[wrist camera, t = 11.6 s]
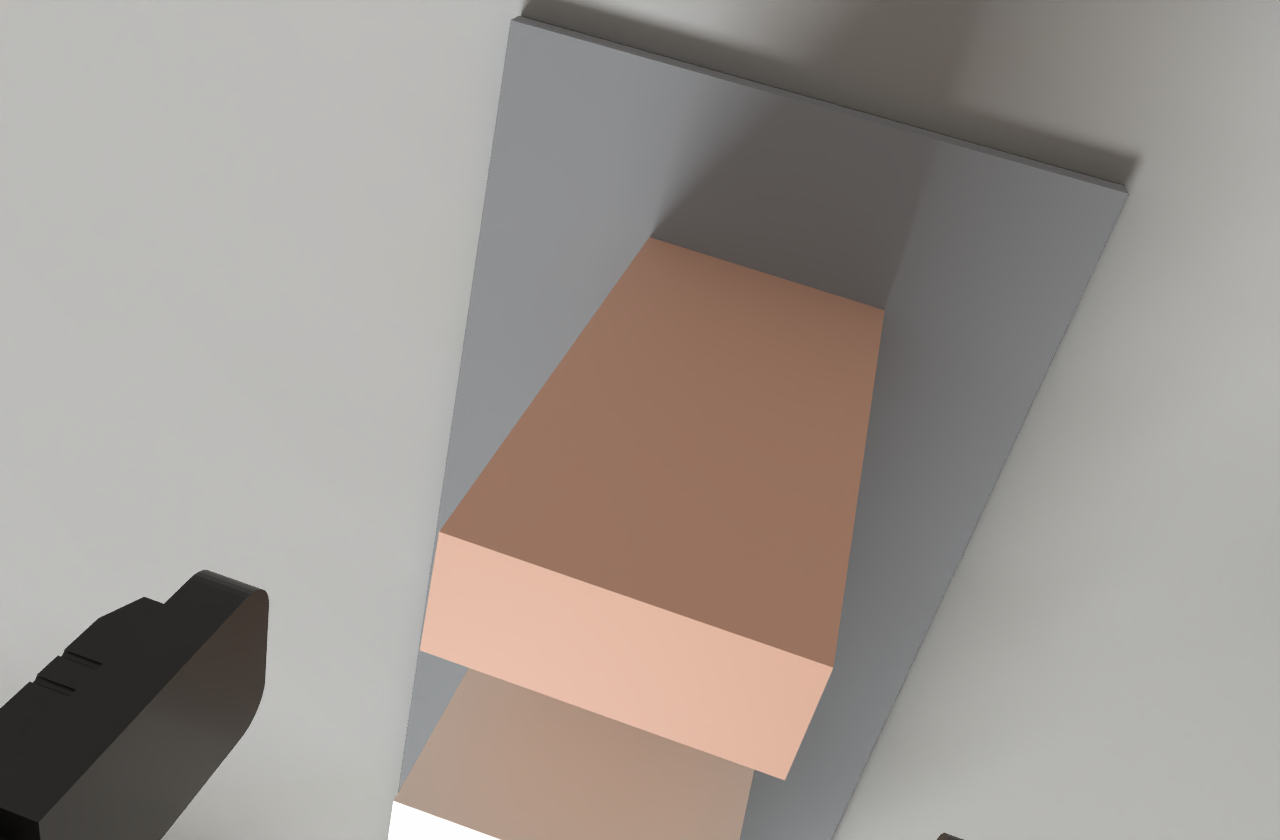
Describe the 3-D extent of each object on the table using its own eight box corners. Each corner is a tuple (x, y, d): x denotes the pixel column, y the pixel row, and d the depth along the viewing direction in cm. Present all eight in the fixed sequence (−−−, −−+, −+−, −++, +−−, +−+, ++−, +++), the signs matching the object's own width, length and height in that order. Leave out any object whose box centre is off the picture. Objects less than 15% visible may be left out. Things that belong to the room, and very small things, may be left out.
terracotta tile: (852, 394, 24) (785, 780, 14) (628, 321, 24) (419, 650, 15) (884, 310, 23) (833, 668, 13) (649, 237, 23) (439, 531, 14)
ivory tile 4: (785, 573, 26) (690, 1001, 17) (583, 507, 27) (381, 886, 17) (810, 505, 25) (723, 920, 16) (598, 437, 26) (393, 800, 16)
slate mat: (758, 987, 34) (755, 1002, 34) (393, 853, 35) (387, 866, 35) (1125, 185, 21) (1128, 194, 20) (519, 15, 22) (510, 19, 22)
